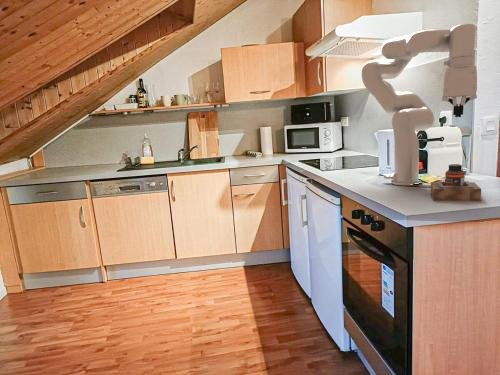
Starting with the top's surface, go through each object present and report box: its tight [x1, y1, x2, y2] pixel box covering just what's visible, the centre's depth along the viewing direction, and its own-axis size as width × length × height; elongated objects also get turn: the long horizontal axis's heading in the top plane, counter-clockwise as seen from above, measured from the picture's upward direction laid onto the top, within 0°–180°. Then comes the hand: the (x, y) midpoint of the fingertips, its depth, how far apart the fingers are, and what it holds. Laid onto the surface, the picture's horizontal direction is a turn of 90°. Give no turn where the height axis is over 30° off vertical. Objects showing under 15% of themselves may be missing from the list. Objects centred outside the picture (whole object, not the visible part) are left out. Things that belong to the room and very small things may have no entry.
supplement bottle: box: [444, 163, 466, 186], centre depth 125 cm, size 6×6×11 cm
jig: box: [430, 180, 482, 202], centre depth 125 cm, size 14×12×5 cm
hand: (457, 117), depth 127 cm, fingers closed
